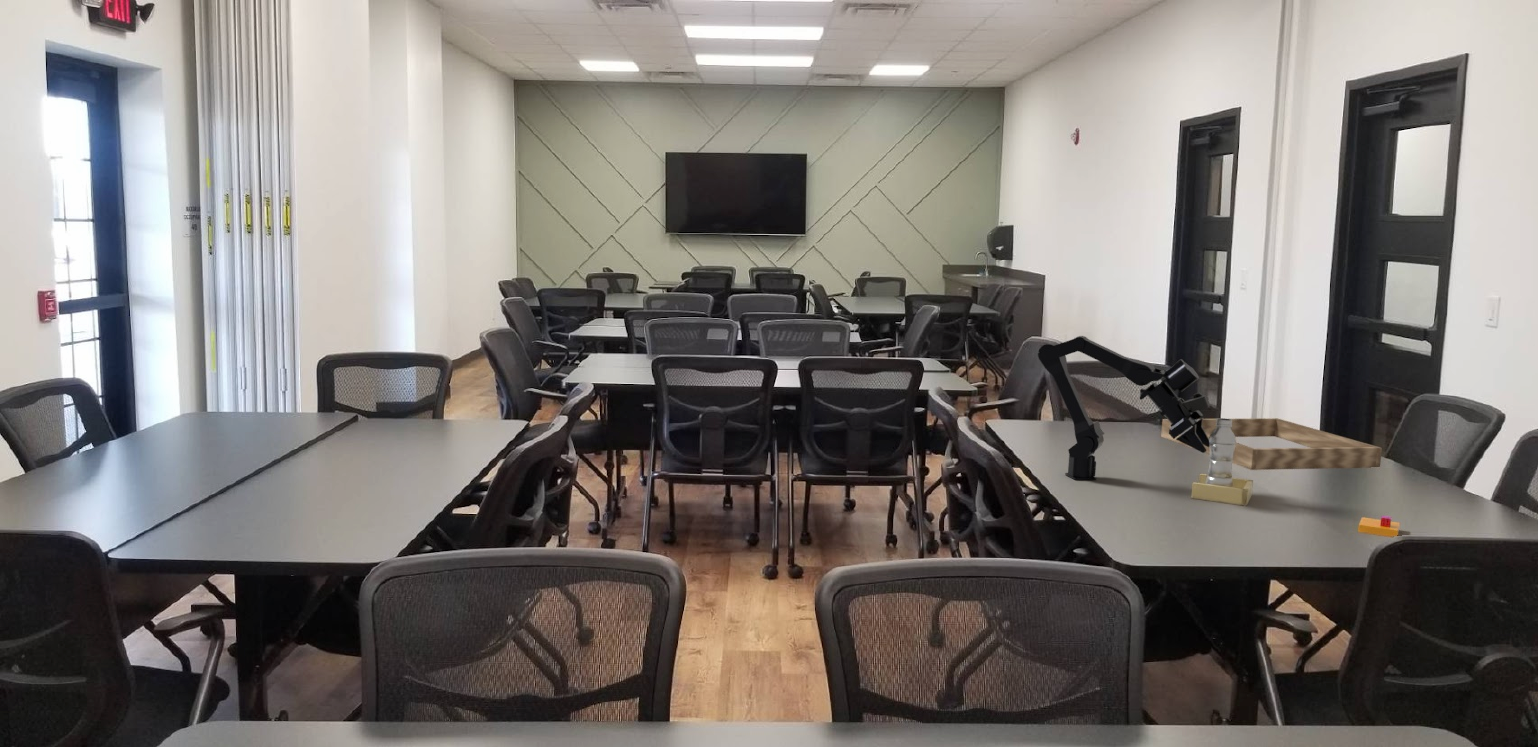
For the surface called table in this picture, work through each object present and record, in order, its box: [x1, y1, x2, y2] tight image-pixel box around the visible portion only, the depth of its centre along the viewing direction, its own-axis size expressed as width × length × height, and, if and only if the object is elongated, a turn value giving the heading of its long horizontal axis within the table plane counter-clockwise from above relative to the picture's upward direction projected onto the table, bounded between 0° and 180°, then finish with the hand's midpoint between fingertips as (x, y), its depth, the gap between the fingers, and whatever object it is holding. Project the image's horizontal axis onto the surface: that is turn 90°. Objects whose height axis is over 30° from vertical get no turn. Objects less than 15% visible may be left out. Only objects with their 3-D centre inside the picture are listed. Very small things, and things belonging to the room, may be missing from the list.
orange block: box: [1357, 515, 1401, 538], centre depth 257 cm, size 8×8×4 cm
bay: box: [1190, 473, 1254, 507], centre depth 286 cm, size 13×13×4 cm
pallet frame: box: [1160, 417, 1383, 471], centre depth 348 cm, size 43×49×6 cm
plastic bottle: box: [1205, 417, 1237, 487], centre depth 286 cm, size 6×7×20 cm
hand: (1207, 448), depth 287 cm, fingers open, 9 cm apart
